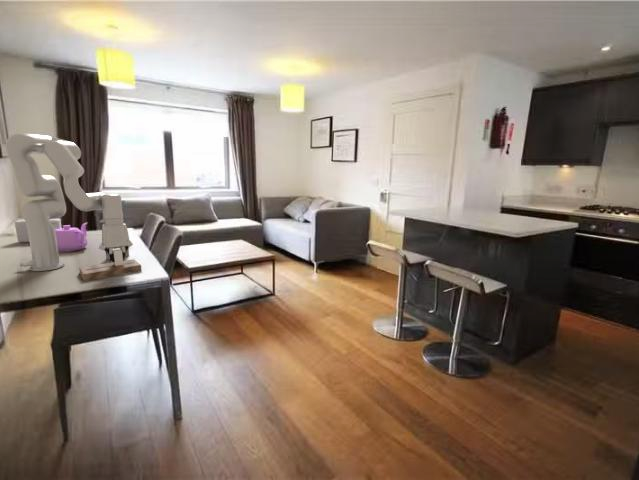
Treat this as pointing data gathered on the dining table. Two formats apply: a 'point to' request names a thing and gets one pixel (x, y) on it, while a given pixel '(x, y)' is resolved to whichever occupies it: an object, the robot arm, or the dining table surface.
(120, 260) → the white rectangular block
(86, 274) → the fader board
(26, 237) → the stereo radio cassette player
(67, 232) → the teapot
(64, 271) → the dining table surface
